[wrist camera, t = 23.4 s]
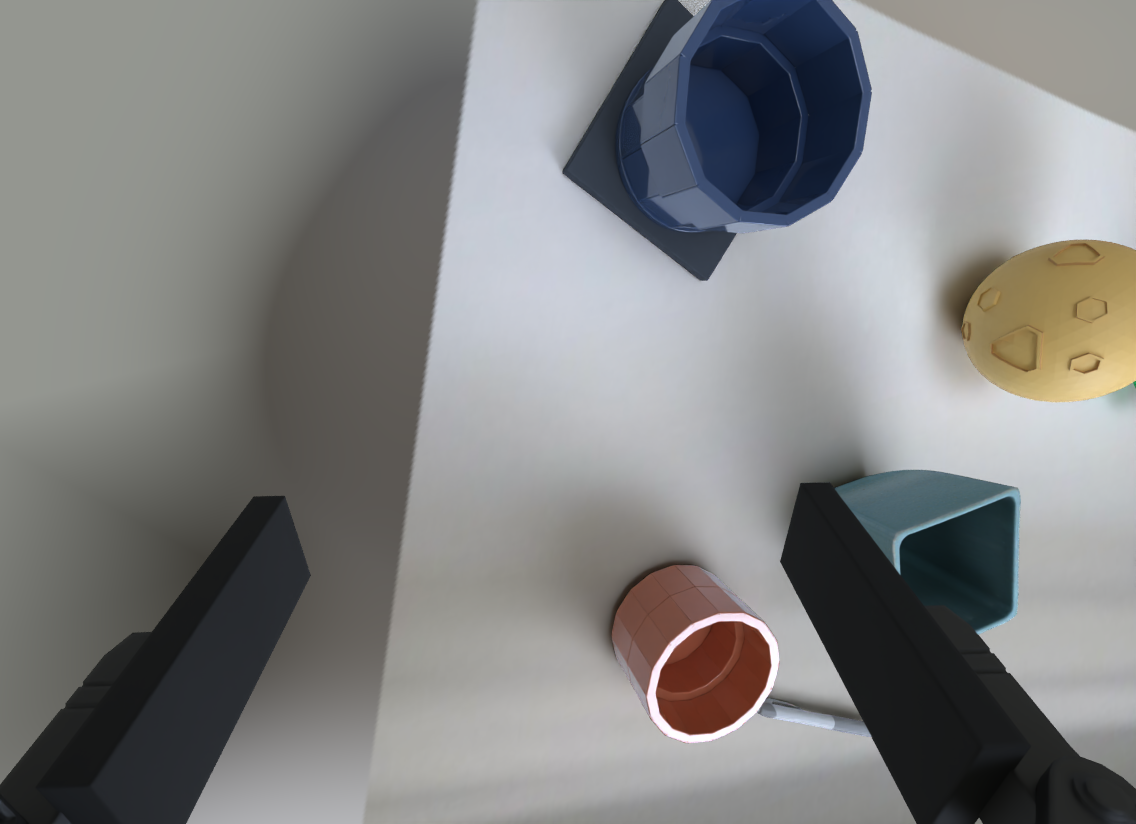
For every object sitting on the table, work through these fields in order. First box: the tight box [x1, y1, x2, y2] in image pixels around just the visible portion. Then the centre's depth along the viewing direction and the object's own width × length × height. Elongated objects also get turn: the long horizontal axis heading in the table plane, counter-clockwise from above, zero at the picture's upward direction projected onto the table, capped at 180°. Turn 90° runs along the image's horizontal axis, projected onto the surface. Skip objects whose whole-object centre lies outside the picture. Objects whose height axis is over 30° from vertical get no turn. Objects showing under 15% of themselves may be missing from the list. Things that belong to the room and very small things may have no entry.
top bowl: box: [615, 0, 872, 233], centre depth 25 cm, size 9×9×7 cm
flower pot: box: [834, 470, 1021, 634], centre depth 34 cm, size 9×9×9 cm
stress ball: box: [961, 240, 1136, 402], centre depth 33 cm, size 10×10×10 cm
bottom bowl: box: [612, 565, 780, 743], centre depth 33 cm, size 8×8×6 cm
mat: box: [563, 0, 737, 281], centre depth 29 cm, size 10×10×1 cm
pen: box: [757, 698, 871, 737], centre depth 42 cm, size 1×14×1 cm, turn 67°
